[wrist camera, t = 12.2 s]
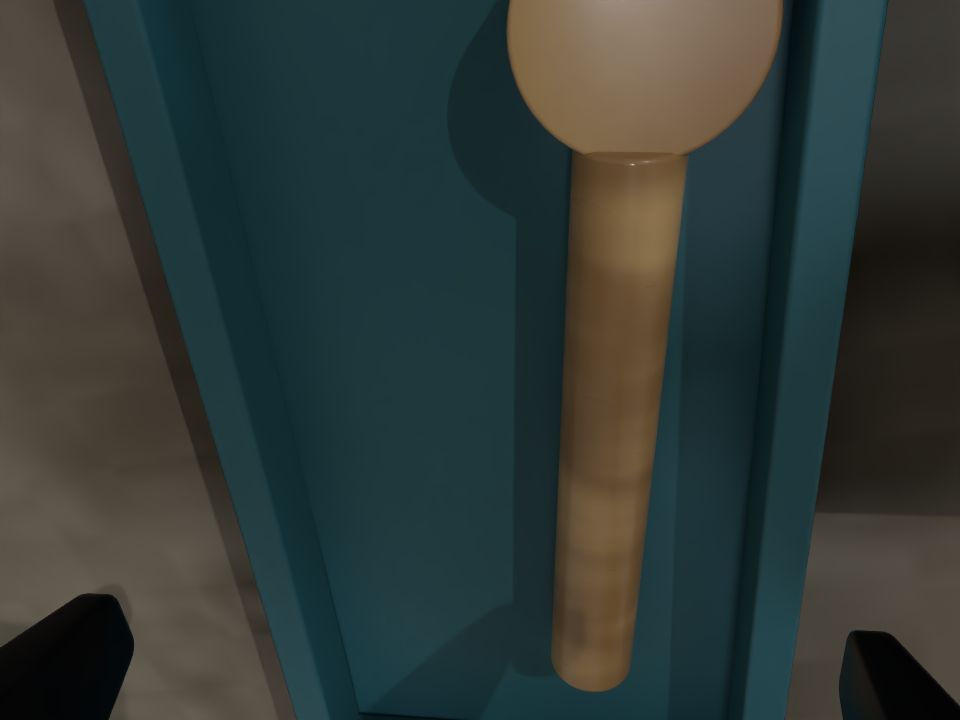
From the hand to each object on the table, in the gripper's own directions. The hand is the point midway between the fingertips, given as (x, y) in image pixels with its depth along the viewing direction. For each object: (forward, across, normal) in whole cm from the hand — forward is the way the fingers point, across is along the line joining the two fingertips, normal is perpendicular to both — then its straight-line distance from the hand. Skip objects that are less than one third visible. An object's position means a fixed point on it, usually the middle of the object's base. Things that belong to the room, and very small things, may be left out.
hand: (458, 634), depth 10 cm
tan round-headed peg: (+5, -1, +6) cm, 8 cm away
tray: (+6, 0, 0) cm, 6 cm away
